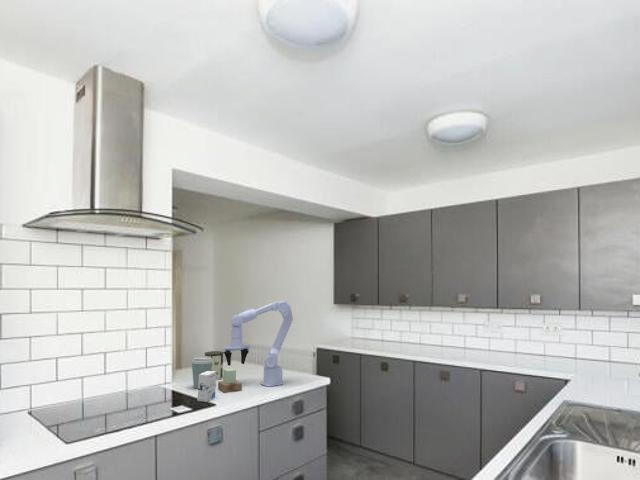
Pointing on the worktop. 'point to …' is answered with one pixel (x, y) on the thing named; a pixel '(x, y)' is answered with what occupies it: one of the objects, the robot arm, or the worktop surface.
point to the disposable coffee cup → (200, 368)
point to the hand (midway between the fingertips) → (235, 364)
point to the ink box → (206, 386)
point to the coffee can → (216, 362)
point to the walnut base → (229, 387)
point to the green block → (229, 376)
